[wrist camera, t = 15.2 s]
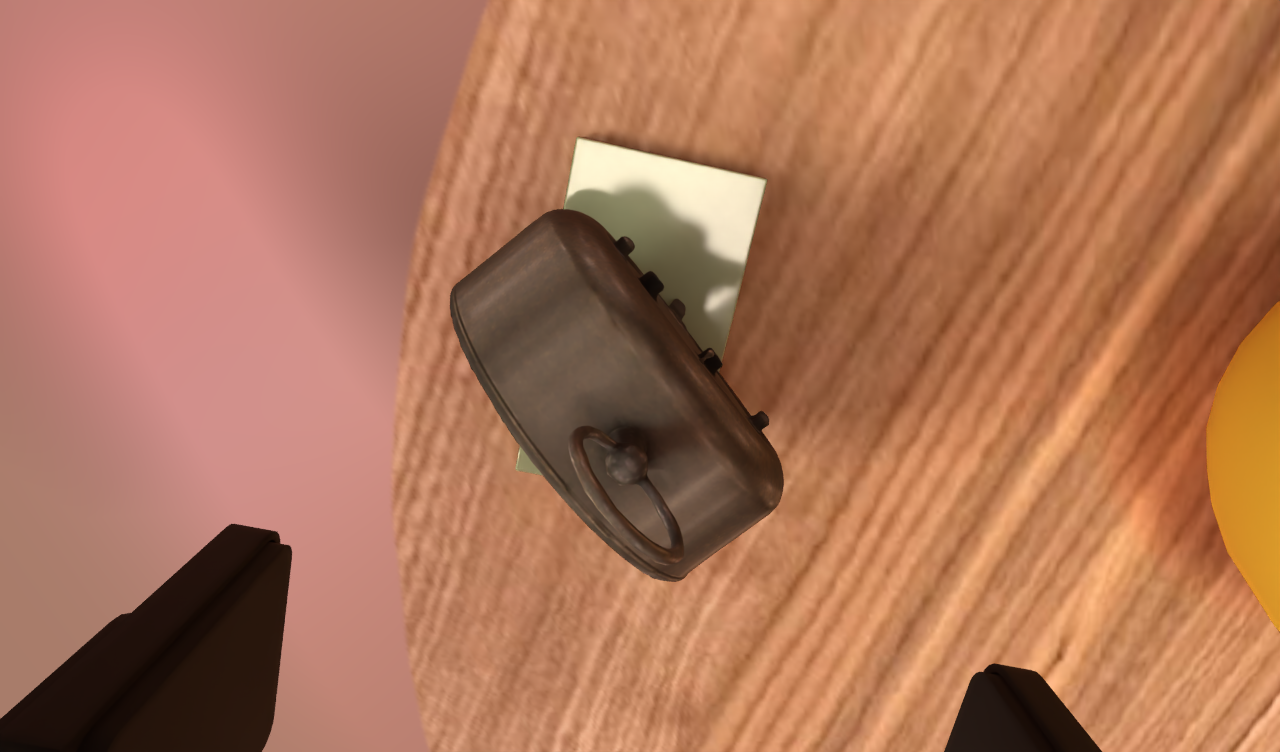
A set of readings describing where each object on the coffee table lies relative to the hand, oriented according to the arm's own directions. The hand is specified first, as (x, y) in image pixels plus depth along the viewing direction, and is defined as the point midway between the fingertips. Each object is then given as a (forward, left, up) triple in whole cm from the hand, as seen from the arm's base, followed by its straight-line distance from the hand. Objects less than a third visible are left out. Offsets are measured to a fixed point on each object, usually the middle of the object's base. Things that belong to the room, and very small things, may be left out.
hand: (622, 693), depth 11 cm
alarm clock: (0, 0, -20) cm, 20 cm away
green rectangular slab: (0, 0, -21) cm, 21 cm away
